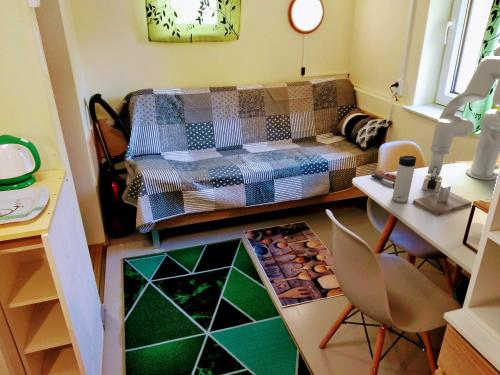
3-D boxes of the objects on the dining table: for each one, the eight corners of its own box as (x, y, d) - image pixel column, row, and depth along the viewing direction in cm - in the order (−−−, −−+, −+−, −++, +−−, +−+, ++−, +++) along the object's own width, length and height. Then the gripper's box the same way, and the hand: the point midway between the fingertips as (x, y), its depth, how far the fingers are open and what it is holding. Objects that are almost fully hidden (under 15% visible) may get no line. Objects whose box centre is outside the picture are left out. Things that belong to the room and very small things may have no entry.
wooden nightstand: (424, 182, 176) (426, 172, 174) (440, 186, 173) (443, 175, 171) (422, 188, 171) (424, 178, 168) (439, 192, 168) (441, 181, 165)
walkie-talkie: (368, 179, 180) (408, 194, 167) (369, 171, 178) (409, 185, 165) (378, 174, 186) (417, 188, 172) (379, 166, 184) (419, 179, 170)
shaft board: (446, 193, 167) (450, 175, 163) (471, 205, 157) (476, 186, 153) (412, 203, 159) (416, 184, 155) (436, 216, 149) (441, 197, 145)
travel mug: (400, 205, 157) (408, 160, 148) (388, 198, 162) (396, 154, 154) (411, 202, 159) (420, 158, 150) (400, 195, 165) (408, 152, 156)
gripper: (433, 140, 172) (425, 176, 180) (428, 153, 158) (420, 191, 166) (451, 143, 169) (442, 179, 177) (448, 156, 155) (439, 195, 163)
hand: (431, 185), depth 171 cm, fingers closed on wooden nightstand, 7 cm apart
